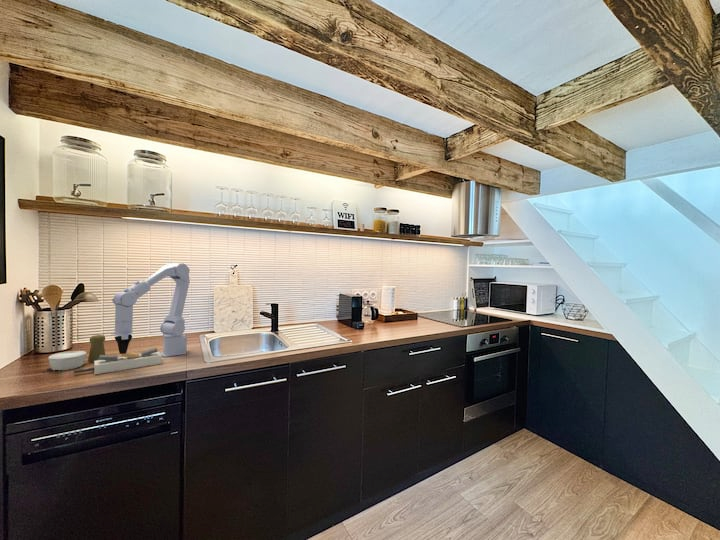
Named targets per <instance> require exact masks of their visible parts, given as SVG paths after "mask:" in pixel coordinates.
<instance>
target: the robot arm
mask: <svg viewBox="0 0 720 540" xmlns="http://www.w3.org/2000/svg"><path fill="white" fill-rule="evenodd" d="M190 270H191V269H190V268H189V267H188V265H187V264H185V263H184V262H183V263H175V262H174V263H173V262H168V263H165V265H162V266H161V267H160V269H158V270H157V271H156V272H154V273H153V274H151V275H150V276H148V277H147V278H146V279H145V280H141V279H139V280H136V281H134V284H132V285H130V286H129V287H128V288H127V287H125V288H124V290H123V291H119V292H117V293H115V294H114V296H113V298H111V301H112V303H113V304H114V306H115V307H114V308H115V311H114V312H115V314H114V315H115V316H114V331H111V332H110V334H111V335H115V336H114V339H115V342H116V343H117V347H118V352H119V355H121V354H122V353H126V352H128V348H129V344H130V342H131V341H132V339H133V335H132V334H133V333H134V331H133V320H134V318H133V315H134V305H135V304H136V303H137V300H139V298H141V297H142V296H144V295H145V294H147V293H148V292H150V290H151V287H152V286H153V285H155V284H157V283H159V282H160V281H162V280H163V279H165V278H168V277H169V278H171V279H172V280H173V281H174V282H175V288H174V292H173V296H172V300H171V305H170V308H169V311H168V312H169V313H168V315H167V316H166V317H165V318H164V319H163V322H162V324H161V325H160V328H159V330H160V332H161V333H162V336H163V340H162V341H163V346H162V351H160V353H161V355H162V358H167V357H174V356H179V355H187V342H188V341H187V339H188V338H187V335H186V334H185V330H186V329H185V328H186V326H185V324H186V323H185V322H186V320H185V319H184V317H183V312H184V308H185V304H186V299H187V295H188V290H189V288H190V286H189V285H190V281H191V280H190Z"/></svg>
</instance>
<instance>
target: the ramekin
mask: <svg viewBox="0 0 720 540" xmlns="http://www.w3.org/2000/svg"><path fill="white" fill-rule="evenodd" d="M87 354H88V353H87V352H86V351H85V350H71V351H69V350H68V351H63V352H62V351H61V352H57V353H54V354H50V355H49V356H48V357H47V358H48V359H47V360H48V362H49V367H50V370H52V371H55V370H59V371H60V370H62V371H69V369H70V370H74V369H77V367H78V368H79V367H80V368H81V367H82V366H83V365H84V364H85V361H86V356H87ZM59 371H58V372H59ZM60 372H61V371H60Z"/></svg>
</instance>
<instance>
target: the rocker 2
mask: <svg viewBox="0 0 720 540" xmlns="http://www.w3.org/2000/svg"><path fill="white" fill-rule="evenodd" d="M156 352H159V351H158V348H157V347H154V348H150V349H147V350H143V351H141V352H140V354H141V355H142V357H143V356H146V355H149V354H152V353H156Z"/></svg>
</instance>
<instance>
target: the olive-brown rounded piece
mask: <svg viewBox="0 0 720 540" xmlns="http://www.w3.org/2000/svg"><path fill="white" fill-rule="evenodd" d="M105 341H106V336H105V335H103V334H96V335H92V336H90V337H89V343H90V347H89V352H88V359H87V362H88V363H94V361H96V360H99V356H100V355H106V350H105V343H104V342H105Z"/></svg>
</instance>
